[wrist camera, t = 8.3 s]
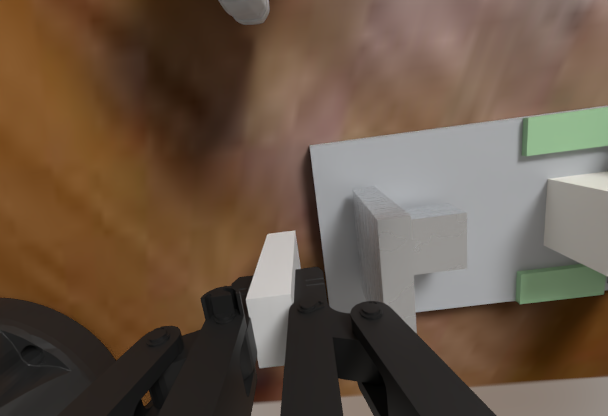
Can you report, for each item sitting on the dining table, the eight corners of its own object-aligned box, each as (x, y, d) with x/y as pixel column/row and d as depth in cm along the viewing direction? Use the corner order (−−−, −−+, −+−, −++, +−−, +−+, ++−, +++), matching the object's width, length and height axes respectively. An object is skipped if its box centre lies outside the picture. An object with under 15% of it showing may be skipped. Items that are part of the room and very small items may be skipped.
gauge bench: (329, 311, 21) (346, 423, 13) (309, 145, 18) (313, 158, 10) (620, 277, 20) (824, 373, 12) (643, 100, 18) (924, 77, 10)
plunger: (361, 287, 18) (388, 360, 13) (351, 188, 17) (377, 220, 11) (449, 277, 18) (518, 346, 12) (448, 176, 17) (524, 201, 11)
